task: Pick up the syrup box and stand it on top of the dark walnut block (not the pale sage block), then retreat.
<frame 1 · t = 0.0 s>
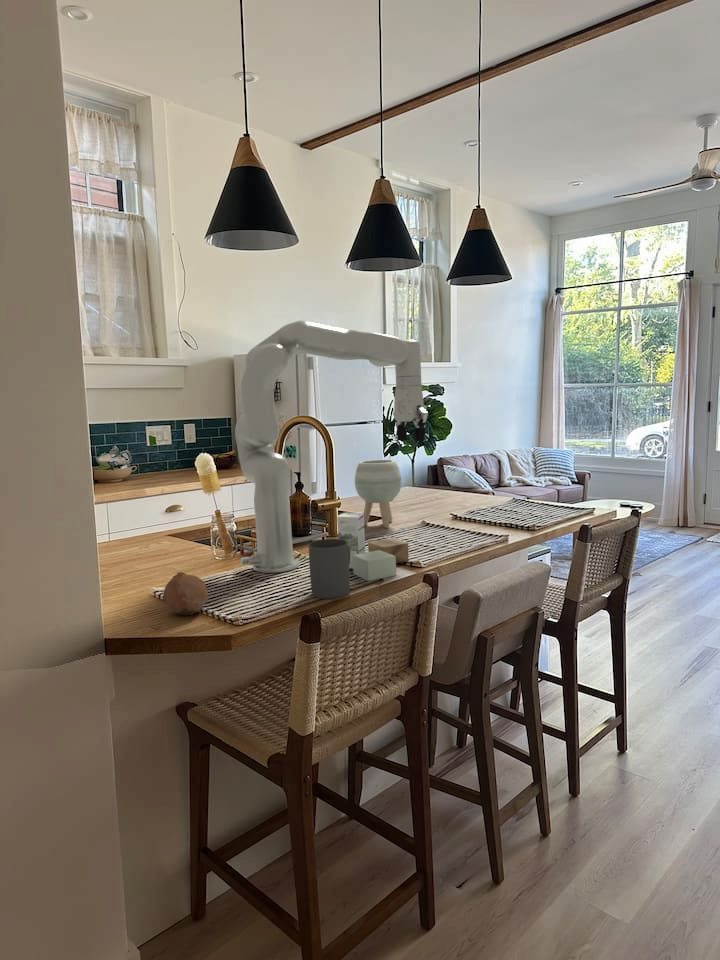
hand: (410, 440, 196), 31 cm above the worktop, fingers open, 9 cm apart
planter: (380, 525, 228), on the worktop
onion: (187, 614, 144), on the worktop
mug: (335, 591, 155), on the worktop
sage block: (374, 574, 167), on the worktop
walnut block: (388, 560, 181), on the worktop
syrup box: (353, 567, 175), on the worktop
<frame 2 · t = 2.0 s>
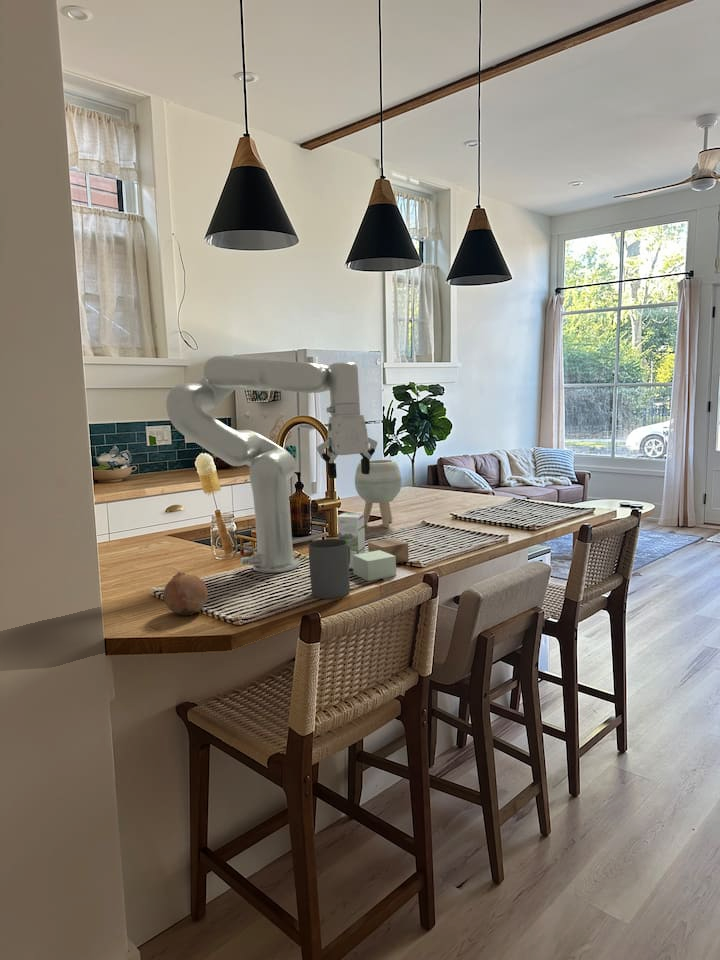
hand: (349, 475, 172), 25 cm above the worktop, fingers open, 9 cm apart
nothing on the worktop moved.
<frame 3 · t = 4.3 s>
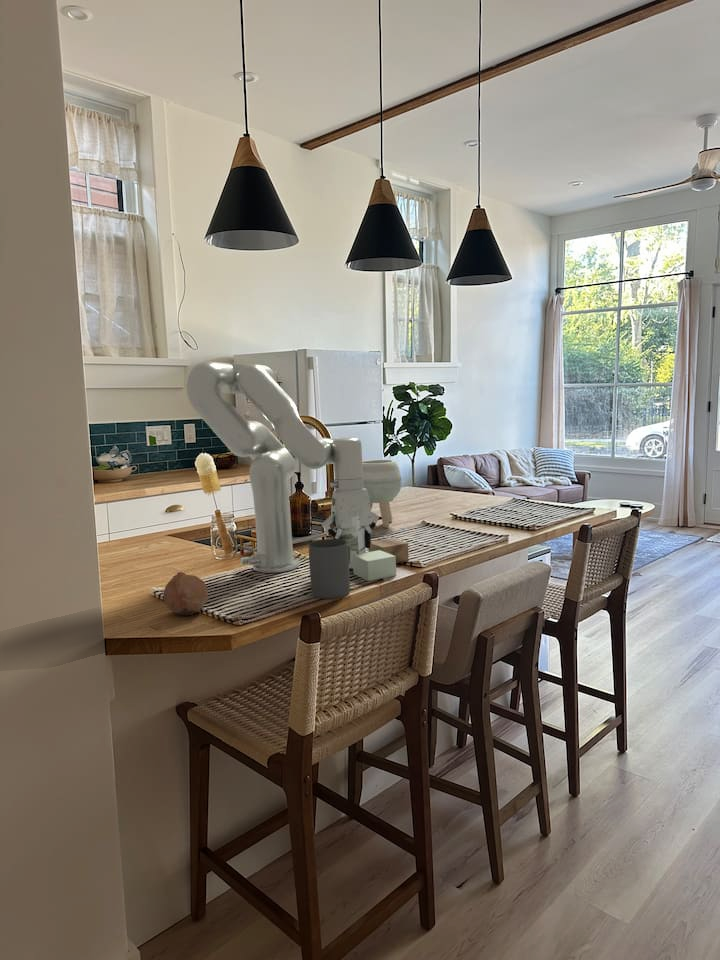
hand: (352, 549, 175), 5 cm above the worktop, fingers closed on syrup box, 7 cm apart
syrup box: (353, 567, 175), on the worktop, touching gripper
everything else where it was.
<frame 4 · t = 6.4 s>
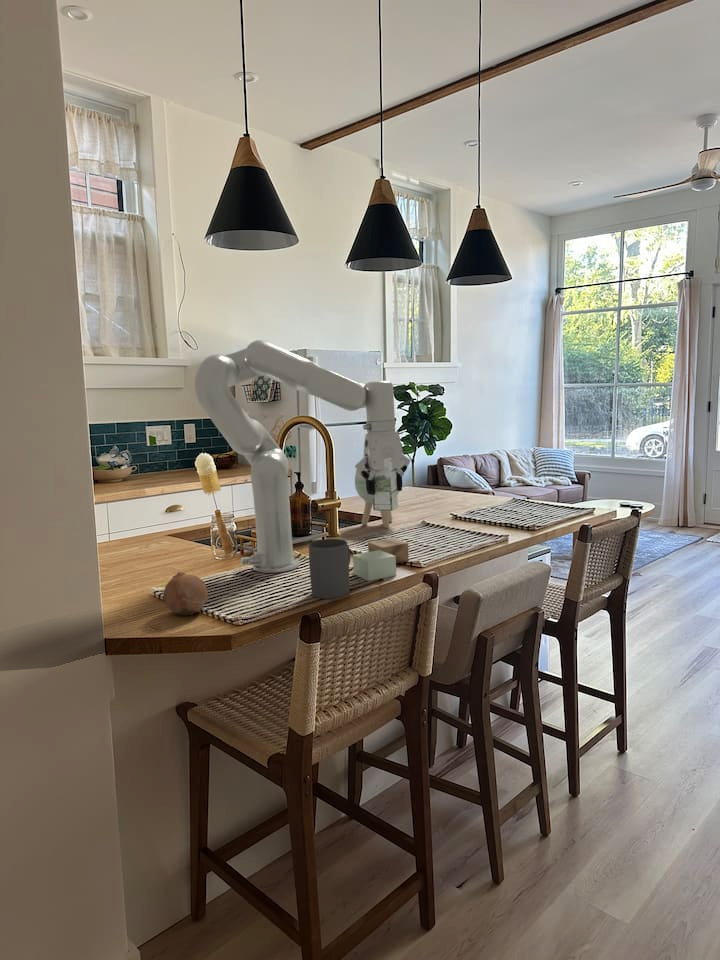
hand: (384, 491, 178), 19 cm above the worktop, fingers closed on syrup box, 7 cm apart
syrup box: (385, 509, 178), point 14 cm above the worktop, touching gripper
everything else where it was.
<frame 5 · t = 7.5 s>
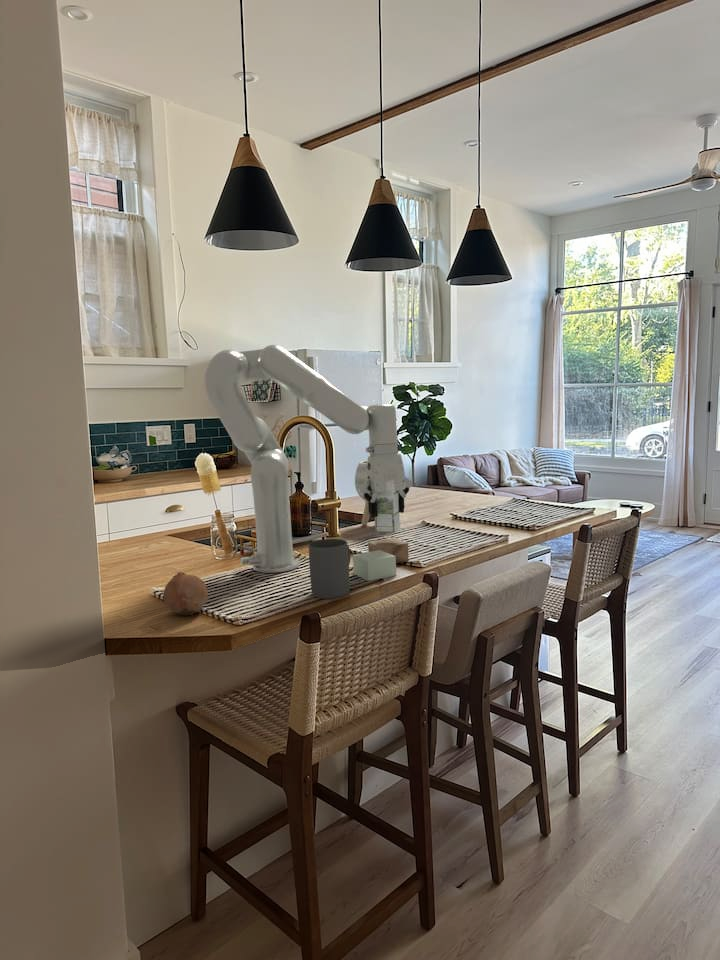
hand: (387, 513, 179), 13 cm above the worktop, fingers closed on syrup box, 7 cm apart
syrup box: (388, 531, 179), point 8 cm above the worktop, touching gripper
everything else where it was.
when the fingers open (11 cm above the worktop, at t = 8.5 s): syrup box stays where it is, resting on walnut block.
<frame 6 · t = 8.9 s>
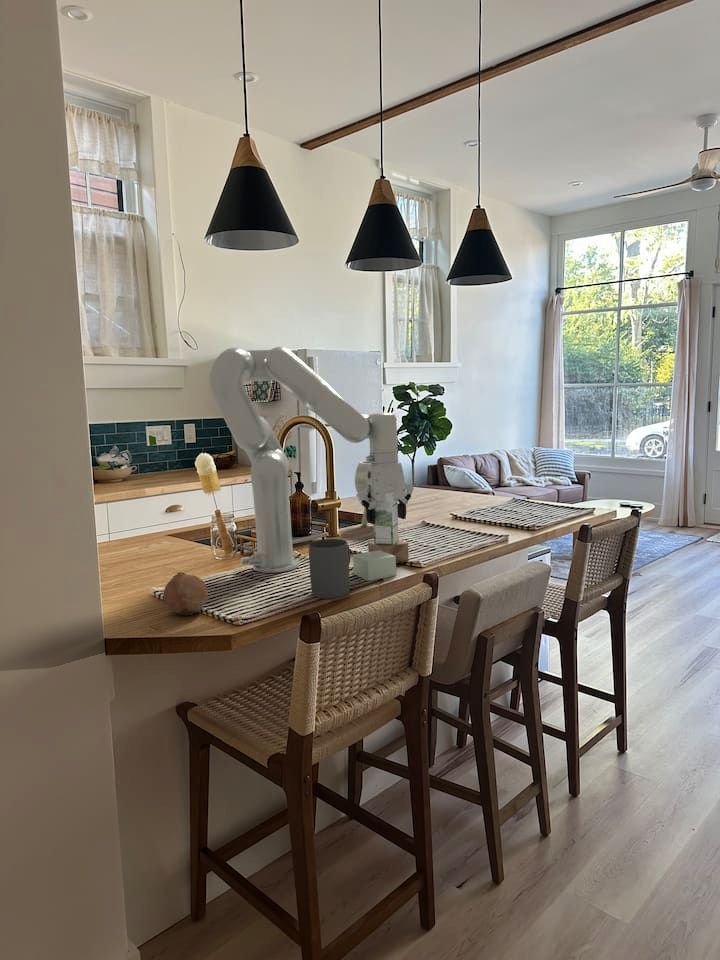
hand: (386, 520, 179), 11 cm above the worktop, fingers open, 9 cm apart
syrup box: (386, 543, 180), point 5 cm above the worktop, touching walnut block
everything else where it was.
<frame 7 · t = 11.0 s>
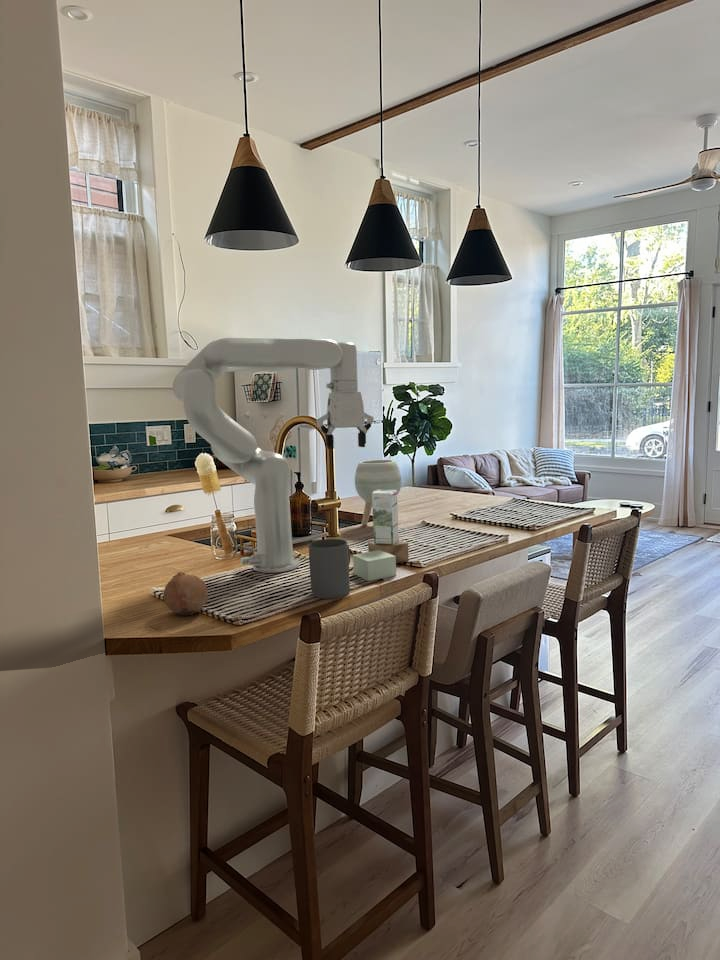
hand: (346, 447, 187), 31 cm above the worktop, fingers open, 9 cm apart
nothing on the worktop moved.
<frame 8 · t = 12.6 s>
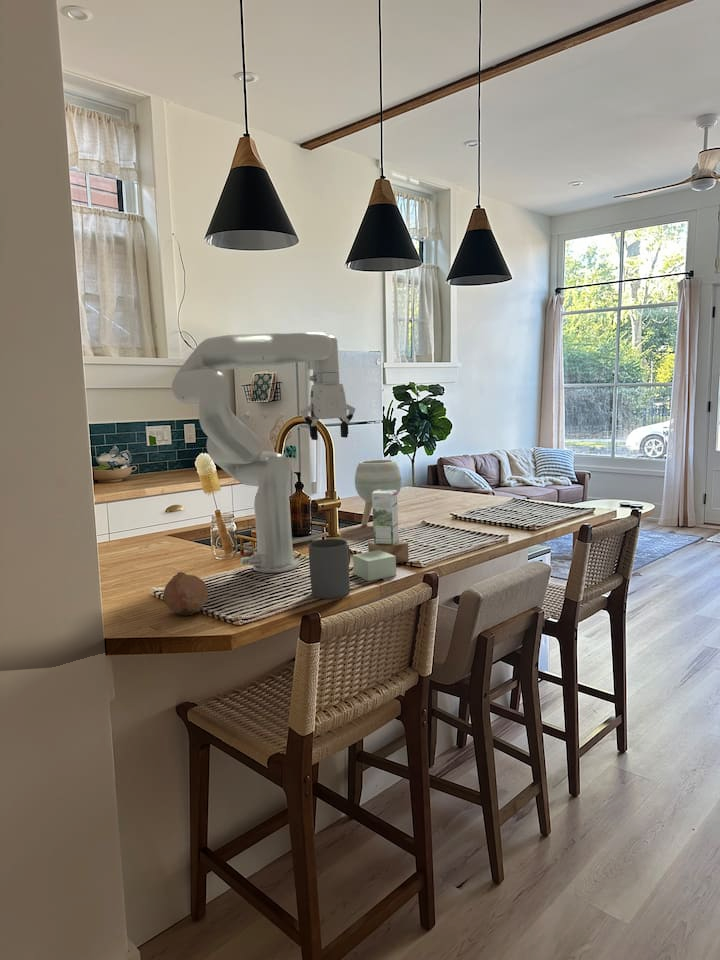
hand: (329, 438, 192), 33 cm above the worktop, fingers open, 9 cm apart
nothing on the worktop moved.
at the end: syrup box 0.3 cm off-centre on the walnut block, point 4.8 cm above the walnut block's base; syrup box tilted 0°; the gripper is holding nothing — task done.
